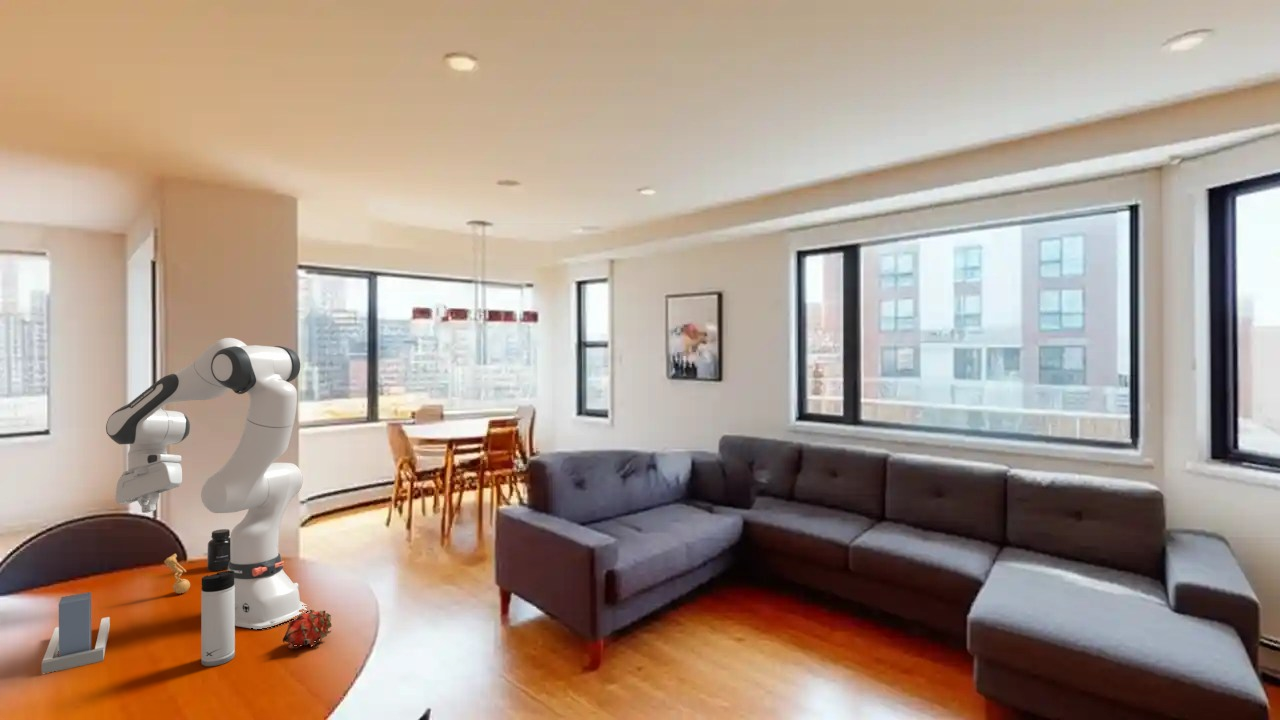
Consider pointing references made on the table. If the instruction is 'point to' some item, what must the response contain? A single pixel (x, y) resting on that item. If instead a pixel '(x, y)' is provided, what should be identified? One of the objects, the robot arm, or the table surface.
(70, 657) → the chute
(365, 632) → the table surface
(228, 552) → the supplement bottle
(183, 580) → the figurine
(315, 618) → the dragon fruit
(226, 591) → the travel mug
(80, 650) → the block
